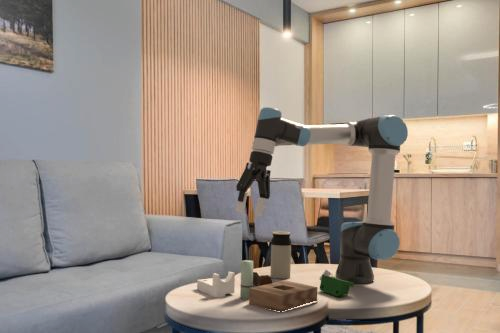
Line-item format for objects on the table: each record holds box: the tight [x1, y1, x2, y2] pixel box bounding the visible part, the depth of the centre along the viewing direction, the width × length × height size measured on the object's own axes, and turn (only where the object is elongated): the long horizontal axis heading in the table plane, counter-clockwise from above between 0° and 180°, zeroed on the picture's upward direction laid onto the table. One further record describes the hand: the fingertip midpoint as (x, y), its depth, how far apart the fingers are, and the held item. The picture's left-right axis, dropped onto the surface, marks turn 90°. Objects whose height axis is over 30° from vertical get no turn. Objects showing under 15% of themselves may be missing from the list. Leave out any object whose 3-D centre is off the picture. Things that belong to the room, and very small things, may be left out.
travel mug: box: [269, 231, 292, 280], centre depth 194 cm, size 8×8×18 cm
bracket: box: [196, 271, 236, 298], centre depth 165 cm, size 13×7×8 cm, turn 35°
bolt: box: [253, 271, 274, 286], centre depth 177 cm, size 6×5×15 cm
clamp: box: [319, 274, 355, 298], centre depth 168 cm, size 12×6×9 cm, turn 21°
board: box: [248, 280, 318, 312], centre depth 152 cm, size 18×13×5 cm
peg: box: [239, 259, 254, 301], centre depth 158 cm, size 4×4×12 cm
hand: (249, 214), depth 161 cm, fingers open, 13 cm apart
